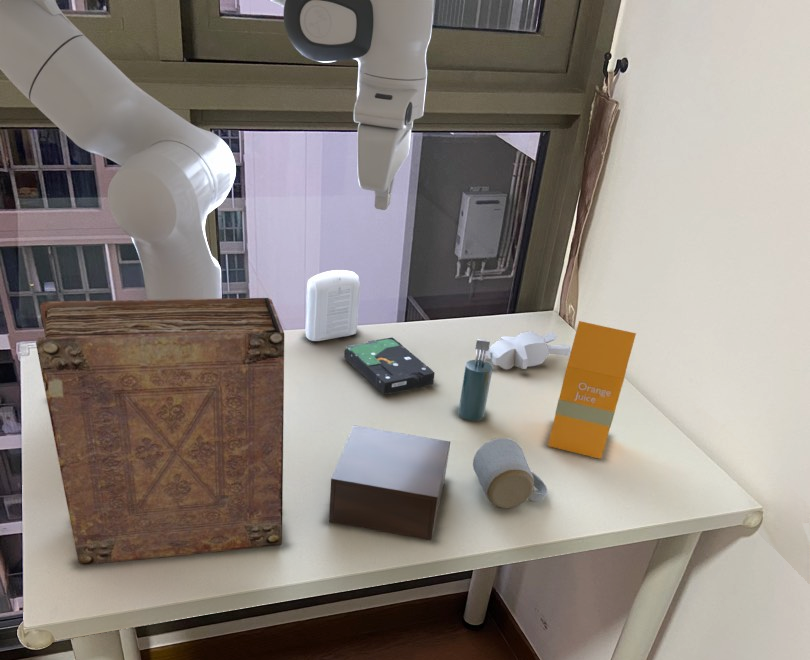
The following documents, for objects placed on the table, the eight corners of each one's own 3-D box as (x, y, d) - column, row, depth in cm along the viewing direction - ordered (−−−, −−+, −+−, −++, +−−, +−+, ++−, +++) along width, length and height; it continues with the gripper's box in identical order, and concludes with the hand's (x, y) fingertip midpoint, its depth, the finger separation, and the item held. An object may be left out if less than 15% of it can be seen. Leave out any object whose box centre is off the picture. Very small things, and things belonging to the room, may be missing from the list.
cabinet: (350, 466, 126) (353, 424, 121) (444, 482, 125) (450, 441, 120) (328, 522, 115) (331, 478, 110) (431, 540, 114) (437, 497, 109)
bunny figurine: (480, 334, 157) (551, 319, 161) (479, 358, 160) (549, 343, 164) (503, 357, 150) (577, 341, 154) (501, 382, 154) (573, 366, 158)
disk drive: (434, 386, 148) (391, 349, 157) (436, 372, 146) (392, 335, 155) (383, 397, 143) (342, 358, 152) (385, 382, 141) (343, 344, 151)
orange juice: (555, 423, 142) (582, 311, 129) (607, 436, 140) (639, 323, 128) (547, 446, 136) (574, 331, 123) (601, 459, 134) (634, 344, 122)
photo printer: (348, 326, 163) (352, 263, 156) (360, 335, 161) (364, 272, 153) (301, 334, 158) (303, 271, 151) (312, 344, 156) (314, 279, 148)
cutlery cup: (456, 418, 140) (468, 344, 131) (459, 405, 143) (471, 332, 135) (482, 423, 139) (496, 348, 131) (485, 410, 143) (498, 337, 135)
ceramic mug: (483, 513, 120) (493, 468, 115) (468, 480, 126) (477, 436, 121) (552, 510, 122) (565, 467, 117) (534, 478, 128) (545, 435, 123)
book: (76, 566, 103) (32, 339, 84) (77, 520, 110) (37, 301, 91) (283, 545, 110) (284, 331, 91) (272, 503, 117) (271, 296, 98)
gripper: (381, 80, 118) (374, 183, 126) (351, 110, 102) (345, 225, 110) (425, 86, 117) (415, 189, 126) (402, 117, 101) (392, 232, 110)
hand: (382, 206), depth 118 cm, fingers closed
